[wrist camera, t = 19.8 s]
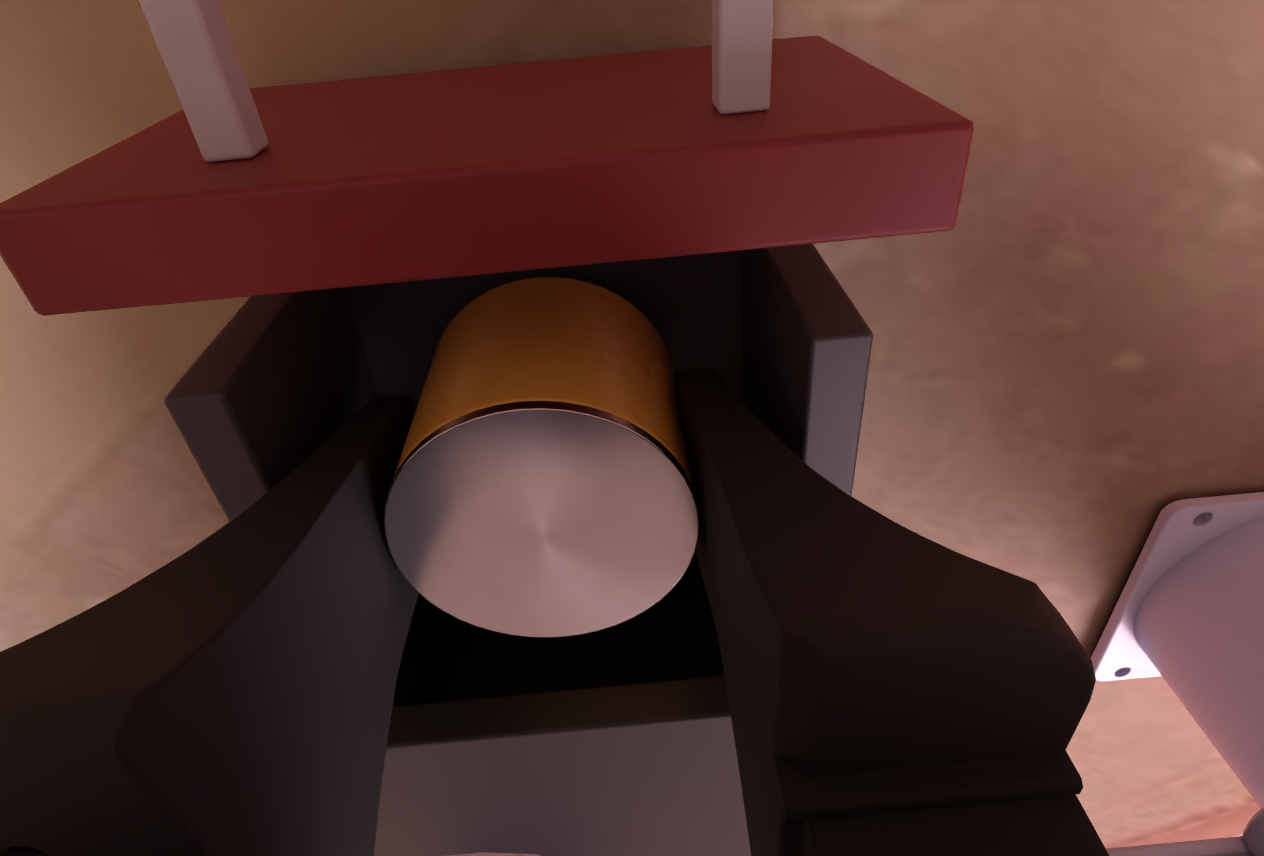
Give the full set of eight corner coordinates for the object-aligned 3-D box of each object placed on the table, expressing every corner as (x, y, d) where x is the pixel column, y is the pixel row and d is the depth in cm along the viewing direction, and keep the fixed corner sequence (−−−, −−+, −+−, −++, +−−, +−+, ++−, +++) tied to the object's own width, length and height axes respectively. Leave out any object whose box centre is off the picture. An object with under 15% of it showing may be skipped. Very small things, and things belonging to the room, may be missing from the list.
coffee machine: (349, 462, 18) (223, 762, 12) (808, 419, 18) (930, 696, 12) (469, 769, 27) (434, 1041, 20) (782, 740, 27) (844, 1003, 20)
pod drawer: (60, -312, 10) (-504, -546, 5) (850, -387, 10) (1138, -700, 5) (413, 611, 20) (359, 838, 15) (784, 577, 20) (848, 793, 15)
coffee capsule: (676, 466, 15) (702, 624, 12) (461, 486, 15) (426, 650, 12) (666, 263, 12) (696, 392, 9) (405, 287, 12) (340, 426, 9)
